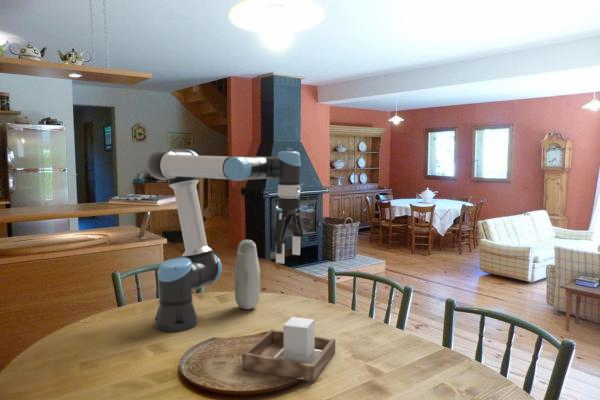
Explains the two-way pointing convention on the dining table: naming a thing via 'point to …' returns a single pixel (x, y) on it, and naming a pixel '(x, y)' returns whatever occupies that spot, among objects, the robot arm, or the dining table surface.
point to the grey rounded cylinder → (247, 275)
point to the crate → (271, 359)
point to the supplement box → (299, 340)
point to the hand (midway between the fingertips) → (288, 258)
